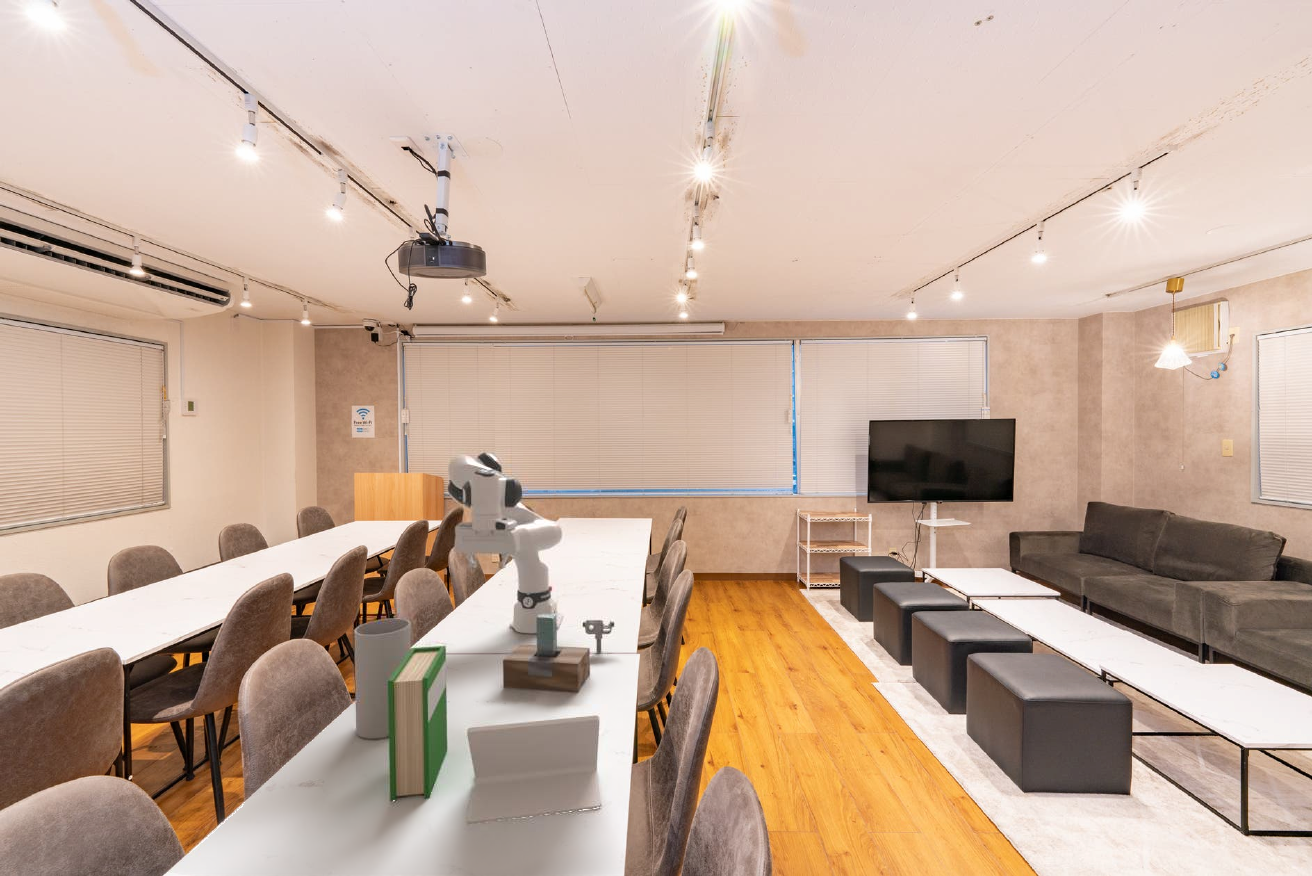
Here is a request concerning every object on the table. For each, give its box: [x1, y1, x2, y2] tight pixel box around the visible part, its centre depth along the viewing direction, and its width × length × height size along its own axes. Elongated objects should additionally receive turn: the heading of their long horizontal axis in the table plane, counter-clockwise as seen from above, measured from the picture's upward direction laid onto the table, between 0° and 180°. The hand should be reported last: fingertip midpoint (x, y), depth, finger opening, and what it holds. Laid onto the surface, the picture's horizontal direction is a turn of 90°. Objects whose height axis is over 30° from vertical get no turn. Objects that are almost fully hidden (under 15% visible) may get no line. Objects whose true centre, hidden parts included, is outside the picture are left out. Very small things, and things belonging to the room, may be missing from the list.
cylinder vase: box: [353, 617, 412, 740], centre depth 144 cm, size 12×12×25 cm
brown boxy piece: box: [502, 644, 591, 693], centre depth 170 cm, size 12×22×8 cm, turn 81°
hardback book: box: [388, 645, 448, 802], centre depth 124 cm, size 18×7×24 cm, turn 9°
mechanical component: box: [582, 619, 615, 654], centre depth 192 cm, size 3×10×10 cm, turn 89°
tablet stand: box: [466, 715, 602, 825], centre depth 119 cm, size 18×25×17 cm
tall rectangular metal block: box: [536, 614, 558, 658], centre depth 169 cm, size 3×5×15 cm, turn 80°
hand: (487, 567), depth 179 cm, fingers open, 8 cm apart
